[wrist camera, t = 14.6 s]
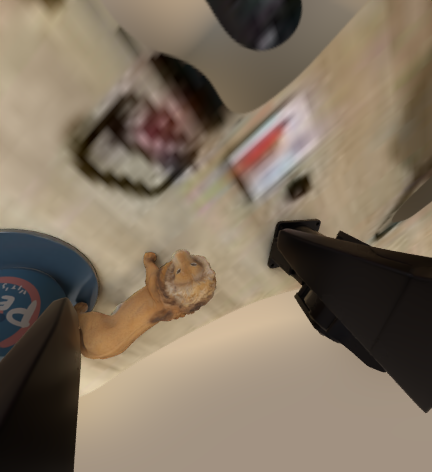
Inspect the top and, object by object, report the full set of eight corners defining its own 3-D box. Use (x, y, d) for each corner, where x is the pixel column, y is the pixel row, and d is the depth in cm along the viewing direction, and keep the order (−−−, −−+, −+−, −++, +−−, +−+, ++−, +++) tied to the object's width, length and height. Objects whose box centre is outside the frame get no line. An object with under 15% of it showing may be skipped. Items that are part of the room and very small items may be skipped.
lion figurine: (167, 216, 22) (199, 255, 14) (199, 247, 25) (240, 295, 17) (54, 321, 21) (25, 422, 13) (101, 341, 24) (99, 433, 16)
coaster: (88, 224, 19) (87, 227, 19) (106, 323, 24) (105, 327, 24) (-110, 234, 15) (-118, 238, 15) (-38, 350, 20) (-42, 356, 20)
